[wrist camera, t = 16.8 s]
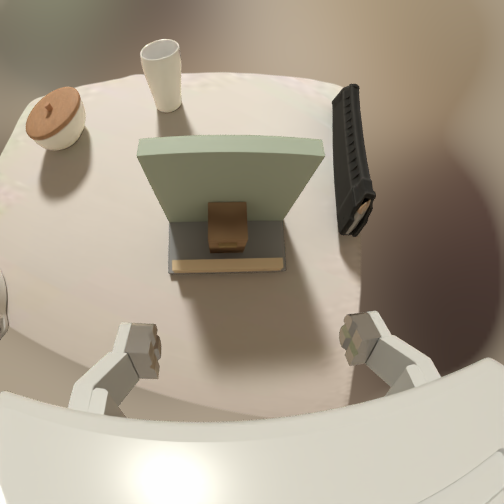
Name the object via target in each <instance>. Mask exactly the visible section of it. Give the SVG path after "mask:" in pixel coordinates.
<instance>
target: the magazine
mask: <svg viewBox="0 0 504 504" xmlns="http://www.w3.org/2000/svg"><path fill="white" fill-rule="evenodd" d="M332 105H333V165H334V183H335V195H336V207H337V219H338V228H339V232H340V234H341V235H352V236H353V237H356V236H357V235H358V234H359V232H360V231H361V230H362V228H363V227H364V226H365V225H366V223H367V221H368V217H369V215H370V213H371V211H372V209H373V207H372V203H373V200H374V199H375V197H376V194H375V192H374V191H373V189H372V181H371V179H370V174H369V169H368V164H367V158H366V152H365V145H364V138H363V130H362V121H361V113H360V101H359V86H358V85H357V84H350V85H349V86H347V87H344V88H343V89H342V90H341V91H340V92H339V94H338V95H337V96H336V97H335V98H334V100H333V101H332Z"/></svg>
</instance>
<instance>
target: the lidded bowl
mask: <svg viewBox="0 0 504 504" xmlns="http://www.w3.org/2000/svg"><path fill="white" fill-rule="evenodd" d="M85 120H86V113H85V108H84V105H83V102H82V100H81V98H80V95H79V93H78V91H77V90H76V89H75V88H72V87H63V88H59V89H56V90H54V91H52V92H51V93H49V94H47V95H46V96H45V97H43V98H42V99H41V100H40V101H39V102H38V103H37V104H36V105H35V107H34V108H33V109H32V111H31V112H30V114H29V116H28V119H27V122H26V132H27V134H28V135H29V137H30V138H32V139H33V140H34V141H35V142H36V143H37V144H38V145H40V146H41V147H43V148H45V149H47V150H61V149H66V148H68V147H70V146H72V145H73V144H74V143H75V142H76V141H77V140H78V139H79V137H80V135H81V133H82V130H83V128H84V125H85Z"/></svg>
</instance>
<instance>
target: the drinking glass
mask: <svg viewBox="0 0 504 504" xmlns="http://www.w3.org/2000/svg"><path fill="white" fill-rule="evenodd" d="M140 57H141V63H142V68H143V71H144V74H145V77H146V80H147V82H148V85H149V88H150V90H151V93H152V95H153V98H154V101H155V105H156V108H157V109H158V110H159V111H161V112H172V111H174V110H176V109H178V108H179V106H180V105H181V102H182V98H181V55H180V48H179V44H178V43H177V42H176V41H174V40H168V39H163V40H157V41H154V42H151V43H150V44H148V45H146V46H145V47H144V48H143V49H142V50H141V52H140Z"/></svg>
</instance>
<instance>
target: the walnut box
mask: <svg viewBox="0 0 504 504" xmlns="http://www.w3.org/2000/svg"><path fill="white" fill-rule="evenodd" d="M247 241H248V226H247V204H246V202H211V203H208V243H209V249H210V253H243V251H244V249H245V246H246V243H247Z"/></svg>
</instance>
